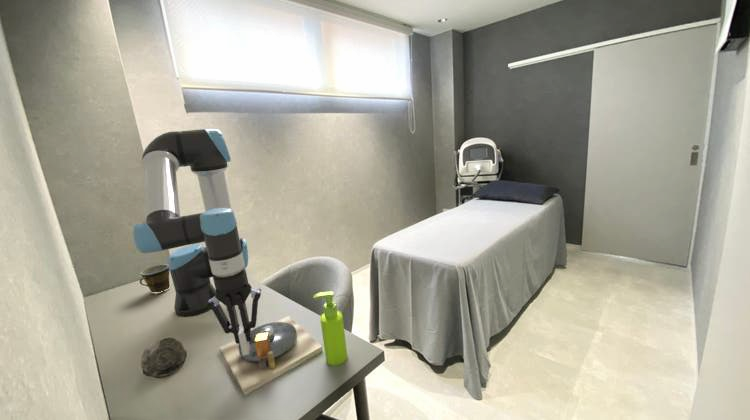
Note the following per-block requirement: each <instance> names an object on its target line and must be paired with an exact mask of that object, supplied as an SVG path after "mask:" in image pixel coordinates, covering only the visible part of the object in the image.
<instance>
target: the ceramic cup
mask: <svg viewBox="0 0 750 420" xmlns="http://www.w3.org/2000/svg"><path fill="white" fill-rule="evenodd" d="M140 275H141V278H140V280H139V284H140V285H141V286H146V287H148V288H149V291H150V293H151V292H161V291H164V290H166V289H168V288H169V287H170V270H169V264H163V263H162V264H157V265H154V266H150V267H148V268H147V267H146V268H144V269H143V270H142V271H140ZM143 281H144V282H145V283H143Z"/></svg>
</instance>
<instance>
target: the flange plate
mask: <svg viewBox="0 0 750 420" xmlns="http://www.w3.org/2000/svg"><path fill="white" fill-rule="evenodd" d="M251 334H252V338H251V341H249V344H250V351H249V354H247V355H243V354H242V350H241V345H240V343H239V353H240V356H241V358H242V359H243V360H245V361H247V362H250V363H259V368H265V367H267V364H268V359H267V353H268V352H269V351H272V352H273V355H274V360H275V359H277V358H279V357H281V356H283V355H284V354H286V353H287V352H288V351H290V350H291V349H292V348H293V346H294V345H295V343H296V341H297V333H296V329H295V327H294V326H293V325H291V324H289V323H285V322H276V321H274V322H268V323H265V324H262V325H259V326H257V327H255V328H252V329H251Z"/></svg>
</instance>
